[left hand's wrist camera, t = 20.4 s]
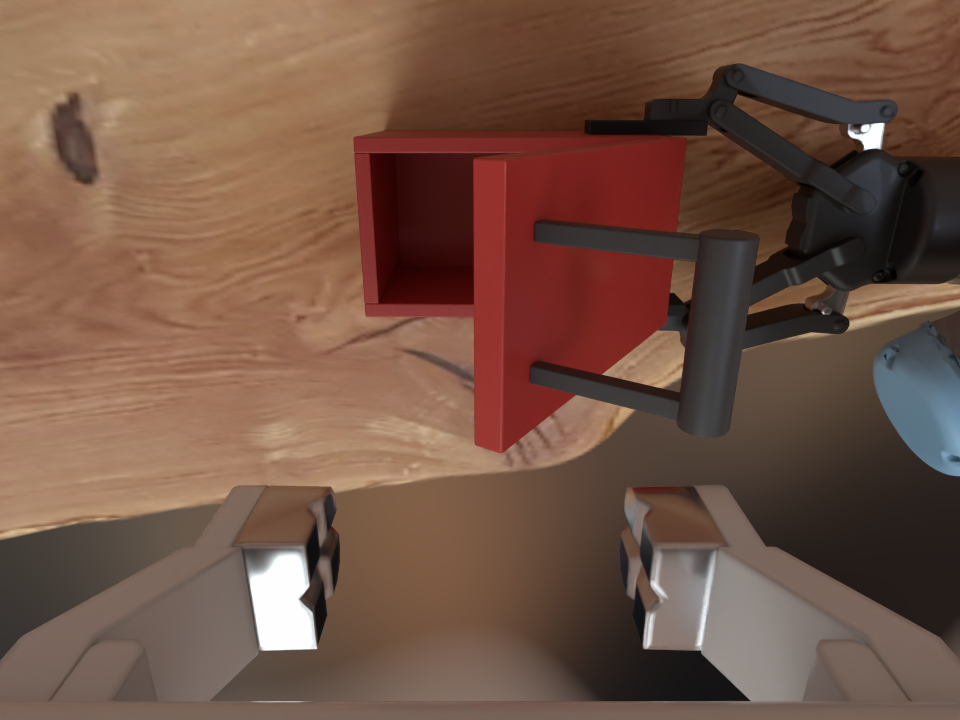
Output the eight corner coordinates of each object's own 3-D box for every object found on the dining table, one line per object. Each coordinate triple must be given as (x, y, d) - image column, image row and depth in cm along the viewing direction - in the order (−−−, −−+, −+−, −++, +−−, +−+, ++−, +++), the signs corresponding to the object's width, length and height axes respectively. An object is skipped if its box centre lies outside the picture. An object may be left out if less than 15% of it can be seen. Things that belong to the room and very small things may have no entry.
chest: (391, 274, 47) (365, 317, 37) (383, 130, 43) (352, 136, 34) (620, 275, 47) (653, 318, 37) (632, 130, 43) (672, 136, 33)
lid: (473, 445, 23) (700, 519, 19) (472, 157, 20) (752, 170, 15) (646, 320, 37) (800, 347, 33) (664, 136, 33) (840, 141, 29)
